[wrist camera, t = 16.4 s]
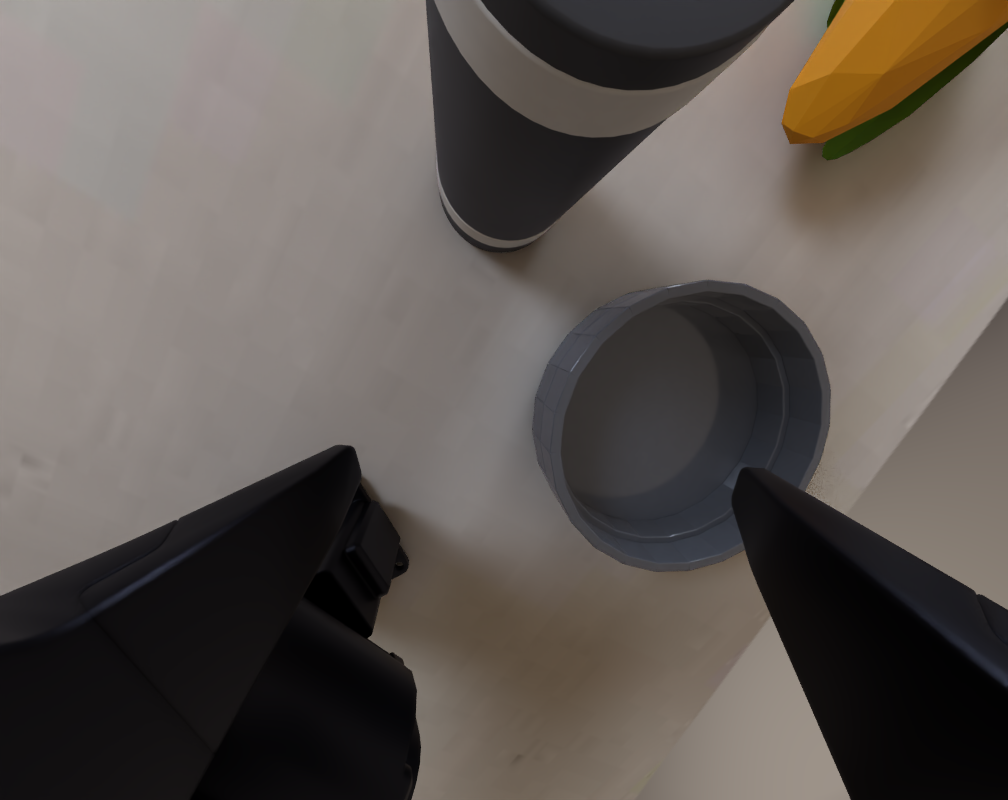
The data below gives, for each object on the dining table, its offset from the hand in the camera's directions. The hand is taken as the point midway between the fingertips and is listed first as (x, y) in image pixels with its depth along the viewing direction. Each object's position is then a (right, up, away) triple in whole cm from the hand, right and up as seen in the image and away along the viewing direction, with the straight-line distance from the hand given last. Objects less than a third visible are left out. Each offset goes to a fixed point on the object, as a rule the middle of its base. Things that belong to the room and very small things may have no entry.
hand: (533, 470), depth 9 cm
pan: (+8, +1, +12) cm, 15 cm away
